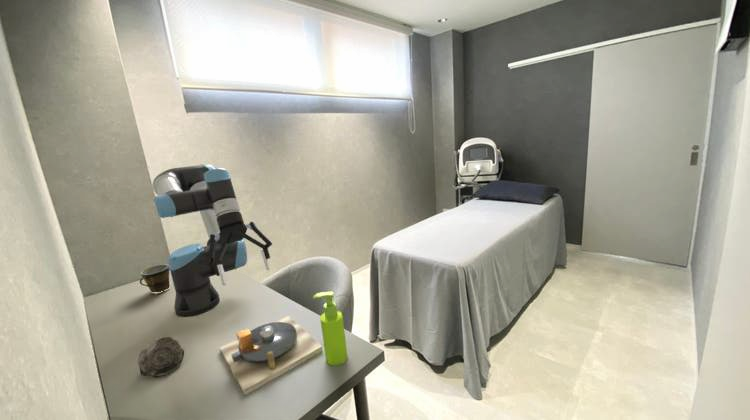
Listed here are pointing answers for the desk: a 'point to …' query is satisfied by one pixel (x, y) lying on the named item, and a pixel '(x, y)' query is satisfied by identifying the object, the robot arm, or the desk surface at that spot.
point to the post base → (262, 369)
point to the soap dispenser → (332, 330)
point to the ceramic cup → (156, 277)
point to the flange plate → (265, 342)
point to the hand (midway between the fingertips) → (247, 277)
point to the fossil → (160, 357)
